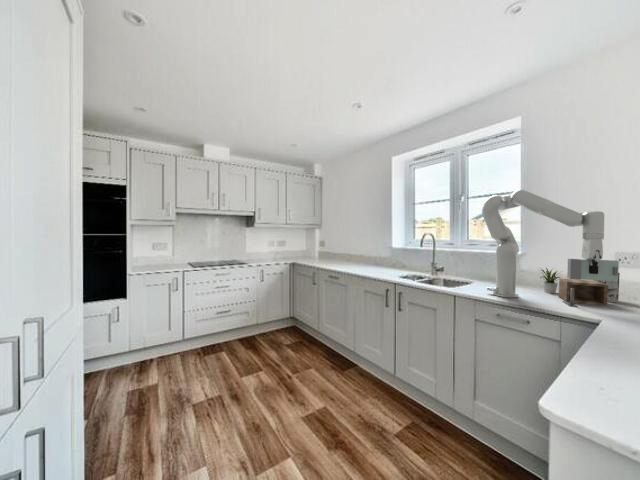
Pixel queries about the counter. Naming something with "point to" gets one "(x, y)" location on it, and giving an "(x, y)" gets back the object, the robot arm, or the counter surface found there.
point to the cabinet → (583, 292)
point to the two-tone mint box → (605, 273)
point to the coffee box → (612, 290)
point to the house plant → (549, 281)
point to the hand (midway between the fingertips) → (592, 273)
